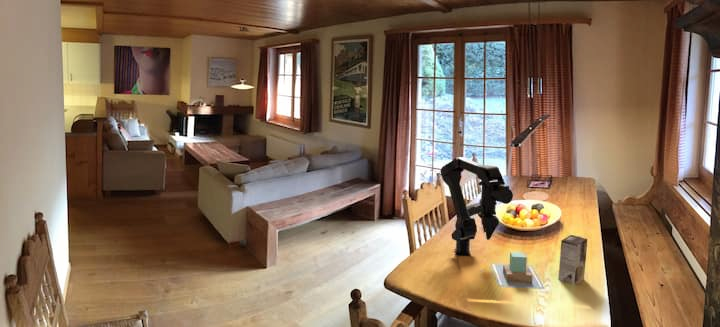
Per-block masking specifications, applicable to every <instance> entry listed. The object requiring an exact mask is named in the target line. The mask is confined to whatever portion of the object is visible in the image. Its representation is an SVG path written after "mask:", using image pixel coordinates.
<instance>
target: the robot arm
mask: <svg viewBox="0 0 720 327" xmlns="http://www.w3.org/2000/svg"><path fill="white" fill-rule="evenodd" d="M464 171H466V172H469V173H472V174H473V175H476V177H477V179H479V180H480V181H479V182H478V184H477V185H479V186H481V192H480V195H481V196H480V199H479V201H478V202H476V203H473V204H469V205H467V204H466V201H465V197H464V194H463V190H462V187H461V183H460V182H461V180H462V173H463V172H464ZM439 172H440V175H441V178H442V181H443V183H445V184H446V185H447V186H448V189H449V193H450V196H451V197H450V198H451V201H452V204H453V209H454V212H455V216H456V221H455V223H454V225H455V230H453V231H452V233H451V235H450V236H451V239H452V240H453V241H455V248H454V255H456V256H471V255H472V254H471V250H470V247H471V246H470V245H471V244H470V243H471V240H475V238H476V235H477V233H478V229H477V228H478V226H477V224H476V219H475V218H474V217H473V216H476V215H477V216H478V217H479V218H480V222H481V226H482V230H483V233H485V237H486V240H487V241H490V239H491V238H492V236H493V234H494V232H495V231H496V229H497V227H498V226H499V225H500V220H499V218H498V217H497V212H496V207H497V206H496V205H497V204H498V203H502V204H505V205H508V204H510V203H511V202H512V200H513V198H514V194H513V191H512V190H511V189H510V186H509V185H507V184H506V183H505V179H504V178H503V175H502V173H501V171H500V168H499V167H498V166H494V165H489V164H488V165H487V164H481V163H478V162H476V161H474V160H471V159H468V158H467V157H465V156H459V157H458V156H456V157H455V158H453V159H452V160H451V161H450V162H448V163H446V164H445V165H443V166H442V167H441V169H440V171H439Z"/></svg>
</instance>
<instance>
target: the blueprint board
mask: <svg viewBox="0 0 720 327" xmlns="http://www.w3.org/2000/svg"><path fill="white" fill-rule="evenodd" d="M490 265H491V270H492V272H493V274H494V277H495V280H496V282H497V286H498V287H500V288H502V287H504V288H517V289H520V288H521V289H539V290H546V287H545V286H544V284H543V283H542V281H541V278H540V277H539V276H538V274H537V273H536V271H535V269H534V268H533V265H529V264H526V266H528V268H529V270H530V271H531V273H532V275H533V278H532V283H520V282H507V281H506V279H505V276H504V274H503V265H510V263H509V264H507V263H490Z"/></svg>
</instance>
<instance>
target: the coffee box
mask: <svg viewBox="0 0 720 327" xmlns="http://www.w3.org/2000/svg"><path fill="white" fill-rule="evenodd" d="M587 247H588V238H586V237H585V238H584V237H581V236H578V235H573V234H569V235H568V236H566V237H565V238H563V239H561V244H560V253H559V254H560V255H559V268H558V276H557V277H558V278H557V279H558V280H559V281H562V282H565V283H569V284H573V285H575V286H576V285H578V284H579V283H582V281H584V280H585V273H586V260H587V249H588V248H587Z"/></svg>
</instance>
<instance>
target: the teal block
mask: <svg viewBox="0 0 720 327" xmlns="http://www.w3.org/2000/svg"><path fill="white" fill-rule="evenodd" d="M527 260H528V258H527V255H526V254H525V252H521V251H520V252H519V251H517V252H516V251H510V253H509V264H510V265H509V267H510V269H511V271H512V272H518V273H526V265H527Z"/></svg>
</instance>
